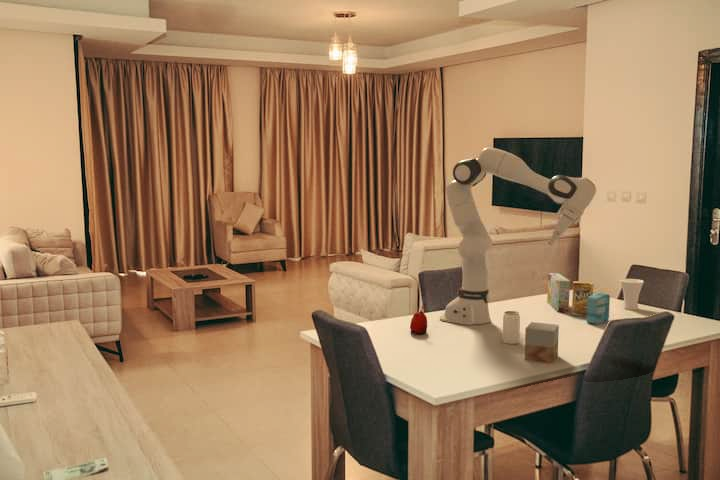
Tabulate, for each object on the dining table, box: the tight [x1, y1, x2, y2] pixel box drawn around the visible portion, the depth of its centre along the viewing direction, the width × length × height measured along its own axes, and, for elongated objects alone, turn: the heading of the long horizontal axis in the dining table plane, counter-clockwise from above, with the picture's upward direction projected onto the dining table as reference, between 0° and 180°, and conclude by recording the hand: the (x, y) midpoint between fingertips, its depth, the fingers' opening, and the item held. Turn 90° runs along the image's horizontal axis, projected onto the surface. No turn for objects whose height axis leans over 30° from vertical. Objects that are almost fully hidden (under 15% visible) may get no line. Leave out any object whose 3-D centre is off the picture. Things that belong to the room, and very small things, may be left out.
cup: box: [619, 278, 645, 311], centre depth 333 cm, size 10×10×14 cm
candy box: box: [571, 280, 594, 317], centre depth 321 cm, size 9×4×15 cm, turn 68°
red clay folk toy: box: [409, 298, 428, 335], centre depth 291 cm, size 8×7×15 cm
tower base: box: [524, 341, 559, 365], centre depth 257 cm, size 10×10×6 cm
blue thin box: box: [586, 292, 611, 325], centre depth 309 cm, size 12×4×12 cm, turn 134°
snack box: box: [546, 272, 571, 313], centre depth 337 cm, size 21×6×15 cm, turn 179°
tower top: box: [524, 321, 560, 348], centre depth 256 cm, size 10×10×6 cm
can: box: [502, 310, 521, 345], centre depth 277 cm, size 6×6×12 cm
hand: (550, 243), depth 286 cm, fingers open, 8 cm apart
